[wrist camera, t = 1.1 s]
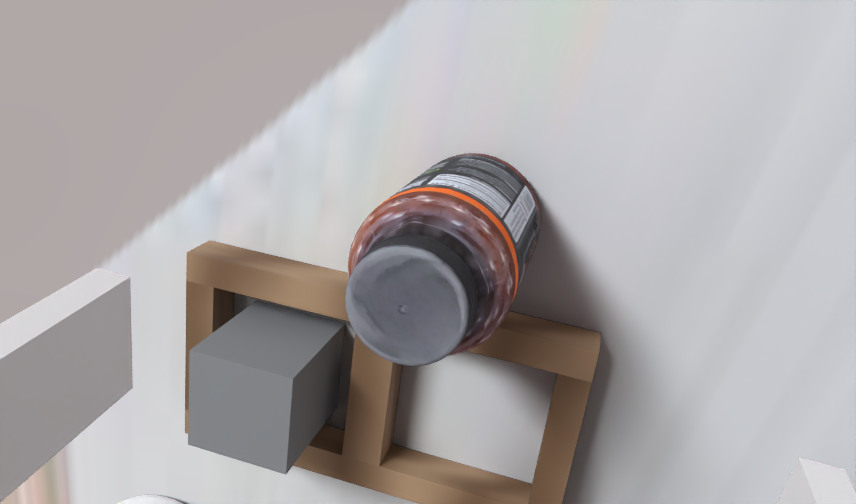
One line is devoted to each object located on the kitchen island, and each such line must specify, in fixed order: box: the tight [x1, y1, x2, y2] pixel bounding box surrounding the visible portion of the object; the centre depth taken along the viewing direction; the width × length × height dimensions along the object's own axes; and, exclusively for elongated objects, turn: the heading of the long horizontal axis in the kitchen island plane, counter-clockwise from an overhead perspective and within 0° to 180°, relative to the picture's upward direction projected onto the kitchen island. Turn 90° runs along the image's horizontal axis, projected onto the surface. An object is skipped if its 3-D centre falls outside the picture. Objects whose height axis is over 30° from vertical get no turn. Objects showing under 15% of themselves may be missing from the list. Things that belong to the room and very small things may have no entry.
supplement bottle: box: [345, 153, 540, 366], centre depth 26 cm, size 6×6×11 cm
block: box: [188, 301, 345, 474], centre depth 34 cm, size 5×5×6 cm
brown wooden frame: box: [185, 241, 601, 504], centre depth 34 cm, size 20×10×2 cm, turn 82°
